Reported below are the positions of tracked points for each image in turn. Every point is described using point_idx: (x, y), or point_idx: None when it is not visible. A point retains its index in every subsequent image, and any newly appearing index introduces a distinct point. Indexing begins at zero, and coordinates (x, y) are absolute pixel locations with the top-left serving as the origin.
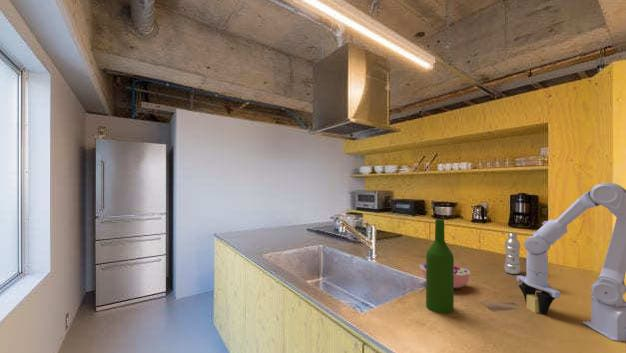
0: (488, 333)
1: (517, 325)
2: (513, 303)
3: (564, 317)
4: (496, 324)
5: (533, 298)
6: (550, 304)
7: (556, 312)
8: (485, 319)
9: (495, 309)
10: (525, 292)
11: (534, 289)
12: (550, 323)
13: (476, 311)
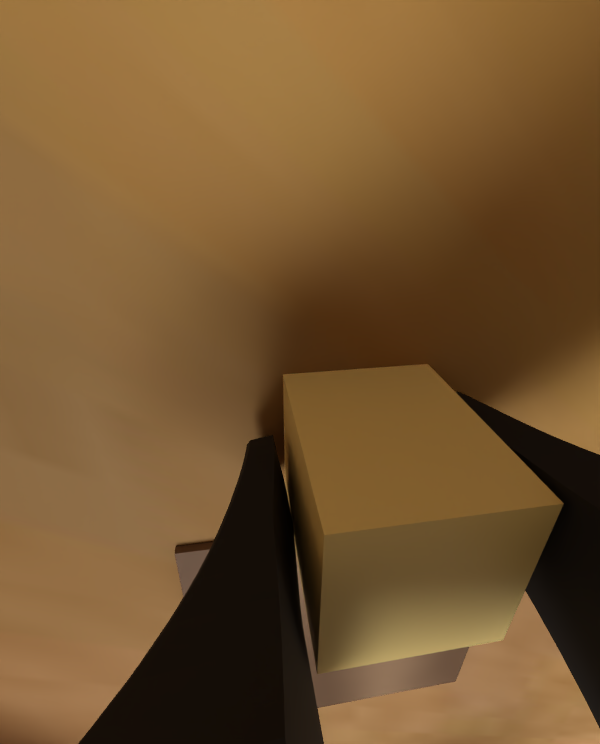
0: (552, 720)
1: (532, 629)
2: (196, 564)
3: (526, 199)
4: (497, 694)
5: (471, 644)
6: (582, 452)
7: (389, 195)
8: (443, 719)
9: (336, 682)
10: (318, 719)
11: (292, 687)
12: (576, 445)
13: (353, 739)
